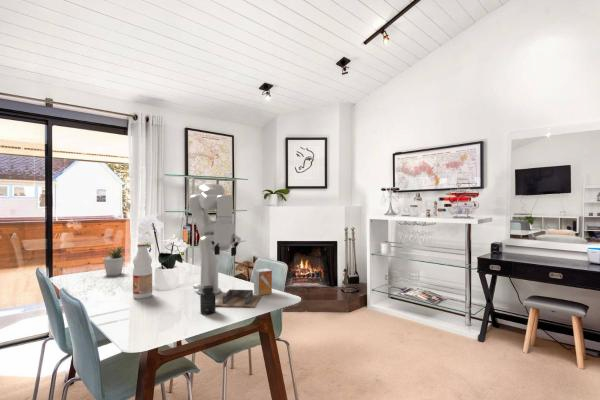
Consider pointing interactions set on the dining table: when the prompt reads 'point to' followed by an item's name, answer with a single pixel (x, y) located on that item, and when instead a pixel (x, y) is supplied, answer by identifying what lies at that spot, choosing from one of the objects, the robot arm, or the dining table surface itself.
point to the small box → (263, 281)
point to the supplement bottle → (207, 300)
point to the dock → (238, 299)
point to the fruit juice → (142, 273)
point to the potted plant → (114, 262)
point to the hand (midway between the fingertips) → (225, 255)
